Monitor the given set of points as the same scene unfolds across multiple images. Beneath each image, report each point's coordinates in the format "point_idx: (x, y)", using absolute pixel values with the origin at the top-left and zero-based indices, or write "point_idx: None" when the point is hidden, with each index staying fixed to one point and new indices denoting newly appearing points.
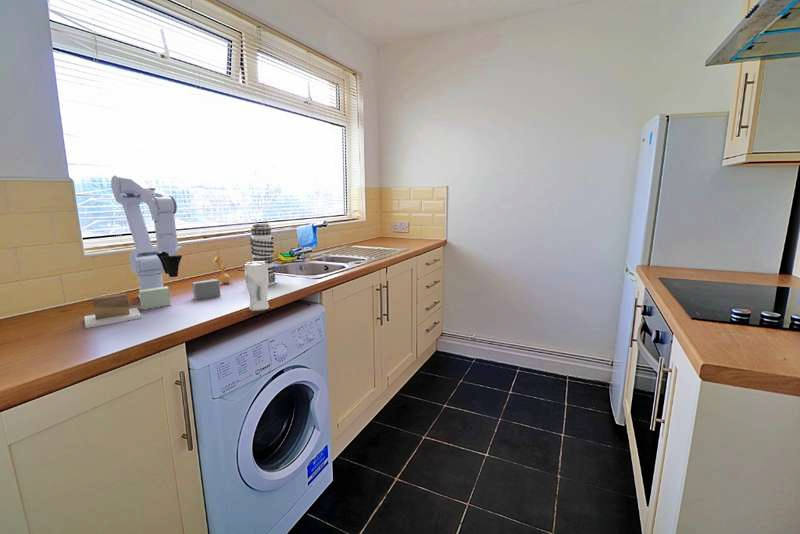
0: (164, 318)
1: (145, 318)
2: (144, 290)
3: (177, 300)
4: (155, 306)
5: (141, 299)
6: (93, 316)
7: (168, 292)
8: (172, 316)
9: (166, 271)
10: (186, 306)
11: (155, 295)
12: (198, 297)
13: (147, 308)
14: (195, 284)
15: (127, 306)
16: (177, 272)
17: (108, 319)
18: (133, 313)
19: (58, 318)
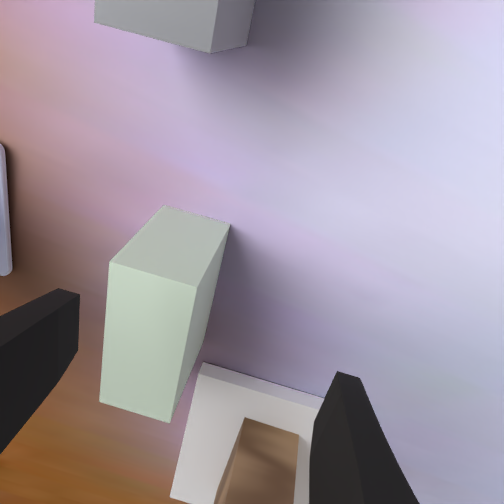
0: (484, 370)
1: (383, 403)
2: (138, 393)
3: (139, 141)
4: (212, 297)
5: (185, 383)
6: (201, 489)
7: (205, 272)
8: (494, 337)
9: (63, 362)
10: (360, 187)
11: (193, 334)
12: (247, 25)
13: (206, 326)
14: (214, 43)
15: (294, 474)
16: (373, 417)
17: (303, 492)
18: (299, 423)
19: (85, 500)
